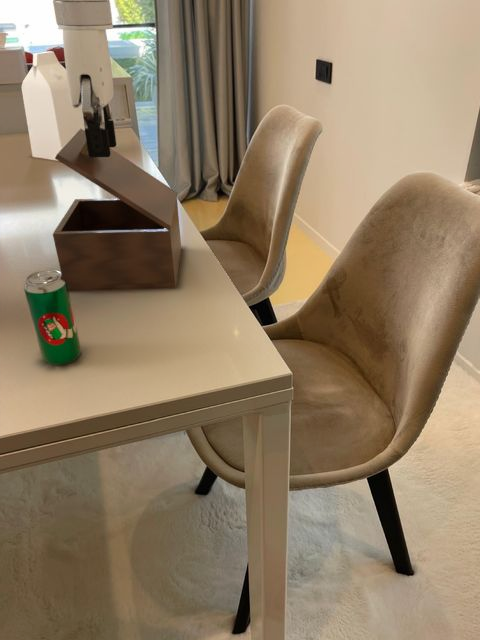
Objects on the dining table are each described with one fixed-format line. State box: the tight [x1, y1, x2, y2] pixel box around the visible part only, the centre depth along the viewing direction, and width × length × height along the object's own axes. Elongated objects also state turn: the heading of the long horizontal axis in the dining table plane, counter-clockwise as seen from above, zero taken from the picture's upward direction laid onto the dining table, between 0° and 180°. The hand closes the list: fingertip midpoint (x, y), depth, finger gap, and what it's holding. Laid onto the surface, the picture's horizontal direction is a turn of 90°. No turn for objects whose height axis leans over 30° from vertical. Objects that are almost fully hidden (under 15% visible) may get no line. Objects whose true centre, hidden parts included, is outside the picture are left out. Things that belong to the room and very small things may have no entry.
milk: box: [21, 50, 85, 162], centre depth 154 cm, size 12×12×26 cm
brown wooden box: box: [52, 197, 182, 292], centre depth 96 cm, size 18×16×10 cm
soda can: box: [23, 269, 82, 366], centre depth 73 cm, size 5×5×12 cm
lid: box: [55, 128, 178, 230], centre depth 89 cm, size 19×16×5 cm
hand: (103, 150), depth 87 cm, fingers closed on lid, 5 cm apart
